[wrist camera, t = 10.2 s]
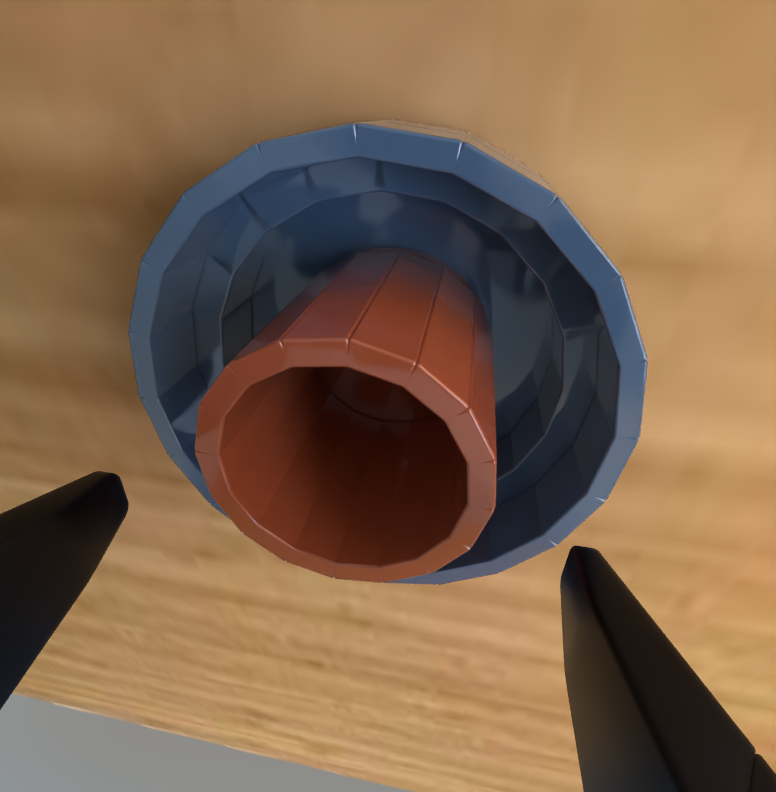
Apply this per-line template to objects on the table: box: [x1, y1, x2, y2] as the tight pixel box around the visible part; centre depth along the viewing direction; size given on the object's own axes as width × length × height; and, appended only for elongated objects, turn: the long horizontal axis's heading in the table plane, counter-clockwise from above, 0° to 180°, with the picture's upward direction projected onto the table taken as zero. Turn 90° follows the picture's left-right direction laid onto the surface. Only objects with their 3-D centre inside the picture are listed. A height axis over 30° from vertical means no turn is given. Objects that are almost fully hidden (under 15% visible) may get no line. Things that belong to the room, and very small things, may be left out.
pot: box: [195, 247, 497, 583], centre depth 13 cm, size 7×7×7 cm
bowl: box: [128, 119, 648, 585], centre depth 15 cm, size 13×13×5 cm
